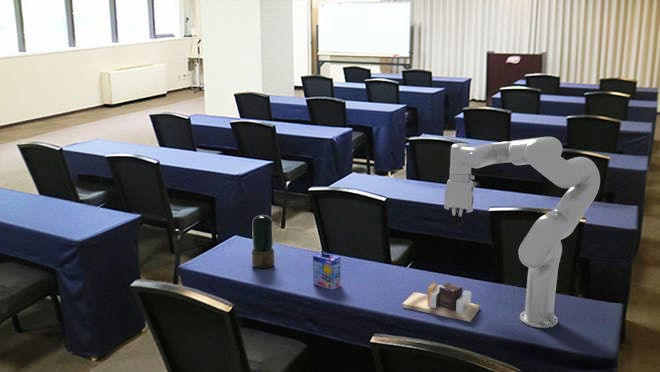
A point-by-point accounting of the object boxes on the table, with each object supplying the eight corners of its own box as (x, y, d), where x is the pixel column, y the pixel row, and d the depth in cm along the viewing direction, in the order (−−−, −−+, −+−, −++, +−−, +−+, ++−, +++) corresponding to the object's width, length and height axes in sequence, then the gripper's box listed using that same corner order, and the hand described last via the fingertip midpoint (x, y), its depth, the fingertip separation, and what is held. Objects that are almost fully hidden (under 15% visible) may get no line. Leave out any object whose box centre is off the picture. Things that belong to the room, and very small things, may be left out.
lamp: (248, 263, 286) (247, 214, 281) (269, 260, 290) (268, 211, 285) (257, 271, 278) (255, 220, 272) (278, 267, 282) (277, 217, 277)
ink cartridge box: (312, 284, 264) (312, 249, 261) (320, 280, 269) (320, 245, 265) (333, 290, 259) (333, 254, 255) (341, 285, 263) (341, 250, 260)
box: (462, 306, 242) (463, 287, 240) (452, 311, 238) (453, 291, 236) (448, 301, 246) (449, 282, 244) (438, 305, 242) (439, 286, 240)
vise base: (479, 308, 243) (479, 304, 243) (469, 321, 233) (470, 317, 233) (413, 295, 254) (414, 291, 254) (402, 307, 244) (402, 303, 244)
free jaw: (444, 298, 248) (445, 282, 246) (435, 308, 239) (436, 292, 237) (434, 296, 249) (434, 280, 248) (425, 306, 241) (425, 290, 239)
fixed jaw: (470, 304, 243) (471, 291, 242) (462, 314, 235) (463, 301, 233) (464, 303, 244) (464, 290, 243) (455, 313, 236) (456, 300, 235)
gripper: (482, 177, 245) (479, 225, 250) (443, 173, 252) (441, 220, 257) (477, 181, 239) (474, 231, 243) (437, 177, 246) (434, 225, 250)
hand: (457, 225), depth 250 cm, fingers closed
